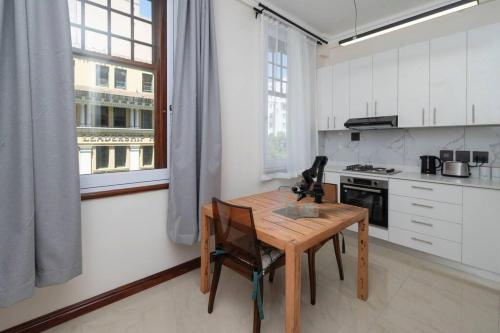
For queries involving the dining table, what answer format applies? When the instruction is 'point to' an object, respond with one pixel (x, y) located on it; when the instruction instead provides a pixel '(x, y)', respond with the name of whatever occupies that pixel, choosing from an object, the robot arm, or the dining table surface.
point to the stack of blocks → (302, 209)
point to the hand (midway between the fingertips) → (297, 201)
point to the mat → (283, 212)
